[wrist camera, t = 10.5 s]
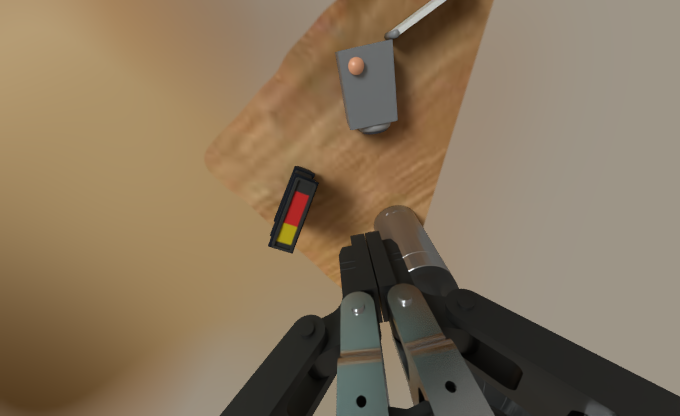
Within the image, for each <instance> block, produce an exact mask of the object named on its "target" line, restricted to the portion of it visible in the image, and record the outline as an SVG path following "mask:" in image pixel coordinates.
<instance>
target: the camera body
mask: <svg viewBox="0 0 680 416" xmlns="http://www.w3.org/2000/svg"><path fill="white" fill-rule="evenodd" d="M335 54H336V60H337V66H338V72H339V78H340V84H341V89H342V95H343V101H344V107H345V113H346V119H347V123H348V125H349V128H350V130H355V129H359V131H361V132H363V133H364V134H377V133H381V132H384V131H386V130H387V129H388V127H389V126H390V125H391V123H390V122H393V121H397V120H398V118H397V103H396V87H395V72H394V56H393V40H392V39H391V40H386V41H382V42H377V43H373V44H369V45H364V46H360V47H355V48H351V49H346V50H342V51H338V52H335Z"/></svg>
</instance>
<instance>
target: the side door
mask: <svg viewBox="0 0 680 416" xmlns="http://www.w3.org/2000/svg"><path fill="white" fill-rule="evenodd" d="M445 1H446V0H431V1H430V2H428V3H427V4H426V5H424V6H423V7H422V8H420V9H419V10H418V11H416V12H415V13H414V14H412V15H411V16H410V17H408V18H407V19H406V20H404V21H403V22H402V23H400V24H399V25H398V26H396V27H395V28H394V29H392V30H391V31H390V32H387V33H386V34H385V36H384V38H385V39H386V40H390V39H394V38H397V37H398V36H399V35H400V34H401V33H403V32H404V31H405V30H407V29H408V28H409V27H411V26H412V25H413V24H415V23H416V22H417V21H419V20H420V19H422V18H423V17H424V16H426V15H427V14H428V13H430V12H431V11H432V10H434V9H435V8H436V7H438V6H439V5H440V4H442V3H443V2H445Z"/></svg>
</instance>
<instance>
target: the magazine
mask: <svg viewBox="0 0 680 416" xmlns="http://www.w3.org/2000/svg"><path fill="white" fill-rule="evenodd" d="M314 176H315V174H314V173H312V172H311V171H309V170H307V169H304V168H302V167H299V166H295V167H294V170H293V172H292V175H291V177H290V180H289V182H288V185H287V188H286V190H285V193H284V195H283V198H282V200H281V203H280V205H279V208H278V211H277V213H276V216H275V218H274V222H275V223H274V226H273V228H272V231H271V234H270V236H271V239H270V242H269V244H268V246H269V247H272V248H275V249H279V250H282V251H286V252H289V253H293V251H294V248H295V245H296V243H297V240H298V237H299V235H300V232H301V229H302V227H303V224H304V221H305V219H306V216H307V213H308V211H309V208H310V205H311V203H312V200H313V197H314V195H315V192H316V189H317V186H318V184H319V183H318V182H315V180H314V179H313V178H314Z"/></svg>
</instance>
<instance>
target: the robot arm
mask: <svg viewBox="0 0 680 416" xmlns="http://www.w3.org/2000/svg"><path fill="white" fill-rule="evenodd" d="M374 230H375V231H374V232H368V233H365V236H364V233H363V234H358V235H353V236H350V237H351V243H352V246H348V247H342V249H341V251H340V254H339V262H340V272H341V283H342V293H343V298H342V302H341V304H340V306H339V308H338V309H337V310H335V311H334V312H333V313H331V314H329V315H328V316H325V317H324V318H322V319H321V318H320V317H318V316H316V315H307V316H304V317H301V318H300V319H299V320H297V321H296V322H295V323H294V325H293V326H292V327H291V328H290V330H289V331H288V332H287V333H286V335H285V336H284V337H283V338H282V339H281V341H280V342H279V343H278V344H277V346H276V347H275V348H274V349H273V351H272V352H271V353H270V354H269V356H268V357H267V358H266V359H265V360H264V362H263V363H262V364H261V365H260V367H259V368H258V369H257V370H256V372H255V373H254V374H253V375H252V376H251V378H250V379H249V380H248V382H247V383H246V384H245V385H244V387H243V388H242V389H241V390H240V391H239V393H238V394H237V395H236V396H235V397H234V399H233V400H232V401H231V402H230V404H229V405H228V406H227V407H226V409H225V410H224V411H223V412H222V414H221V415H220V416H313V414H314V412H315V410H316V409H317V407H318V405H319V404H320V402H321V400H322V398H323V397H324V395H325V393H326V392H327V390H328V388H329V386H330V385H331V383H332V381H333V379H334V378H335V376H336V374H337V406H336V407H337V408H336V413H337V414H336V416H680V397H679V396H678V395H675V394H674V393H672V392H670V391H668V390H666V389H664V388H662V387H660V386H658V385H656V384H654V383H652V382H650V381H648V380H646V379H644V378H642V377H640V376H638V375H636V374H634V373H632V372H630V371H628V370H626V369H624V368H622V367H620V366H618V365H617V364H615V363H613V362H611V361H609V360H607V359H605V358H602V357H601V356H598V355H597V354H595V353H593V352H591V351H589V350H587V349H585V348H583V347H581V346H579V345H577V344H575V343H573V342H571V341H569V340H567V339H565V338H563V337H561V336H559V335H557V334H556V333H553V332H552V331H549V330H548V329H546V328H544V327H542V326H540V325H538V324H536V323H534V322H532V321H530V320H528V319H526V318H524V317H522V316H520V315H518V314H516V313H514V312H512V311H510V310H508V309H506V308H504V307H502V306H500V305H498V304H496V303H495V302H493V301H491V300H489V299H487V298H485V297H483V296H481V295H479V294H477V293H475V292H473V291H470V290H467V289H459V288H458V285H457V284H456V282H455V280H454V278H453V276H452V275H451V273H450V271H449V270H448V268H447V267H446V265H445V263H444V262H443V260H442V258H441V257H440V255H439V253H438V252H437V250H436V248H435V247H434V245H433V243H432V242H431V240H430V238H429V237H428V235H427V233H426V232H425V230H424V228H423V227H422V225H421V223H420V222H419V220H418V218H417V217H416V215H415V214H414V212H413V211H412V210H411V209H409V208H408V207H405V206H392V207H389V208H387V209H385V210H383V211H382V212H381V213H380V214H379V215H378V216H377V218H376V219H375V222H374ZM365 238H366V240H365ZM380 307H381V308H380ZM381 311H382V314H381ZM382 315H383V319H384V322H387V321H389V322H390V326H391V330H392V338H393V341H394V344H395V347H396V350H397V353H398V356H399V359H400V361H401V364H402V368H403V370H404V373H405V376H406V379H407V382H408V386H409V389H410V393H411V398H412V401H413V405H414V406H413V407H411V408H409V409H402V408H395V407H390V403H389V396H388V389H387V382H386V375H385V368H384V360H383V353H382V346H381V331H380V324H379V323H382V322H383V321H382Z"/></svg>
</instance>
